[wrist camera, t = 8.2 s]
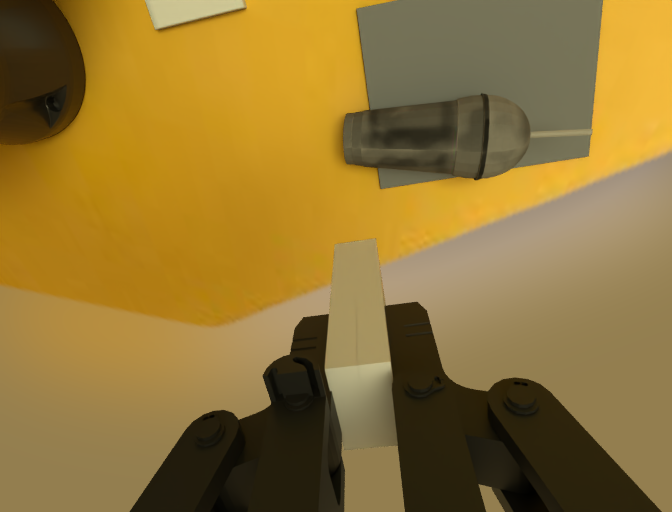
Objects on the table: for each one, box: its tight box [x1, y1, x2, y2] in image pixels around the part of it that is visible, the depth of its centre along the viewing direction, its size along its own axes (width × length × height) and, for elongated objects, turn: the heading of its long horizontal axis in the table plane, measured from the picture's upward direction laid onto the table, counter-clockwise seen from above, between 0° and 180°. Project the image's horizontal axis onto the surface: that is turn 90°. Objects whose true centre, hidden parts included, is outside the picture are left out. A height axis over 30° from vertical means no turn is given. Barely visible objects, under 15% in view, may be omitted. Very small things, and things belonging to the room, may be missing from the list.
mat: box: [357, 0, 603, 189], centre depth 39 cm, size 20×16×1 cm
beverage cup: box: [343, 93, 592, 180], centre depth 37 cm, size 7×7×20 cm
